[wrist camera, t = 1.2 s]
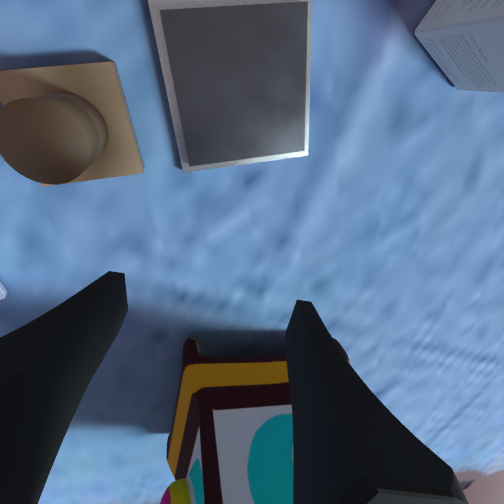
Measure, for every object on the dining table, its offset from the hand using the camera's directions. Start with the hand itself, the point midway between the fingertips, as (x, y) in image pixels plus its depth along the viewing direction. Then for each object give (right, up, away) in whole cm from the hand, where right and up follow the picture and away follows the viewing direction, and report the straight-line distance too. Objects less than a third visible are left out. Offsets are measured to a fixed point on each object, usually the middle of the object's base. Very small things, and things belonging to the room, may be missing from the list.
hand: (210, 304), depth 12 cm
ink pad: (+1, +13, +6) cm, 14 cm away
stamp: (-9, +10, +5) cm, 14 cm away
